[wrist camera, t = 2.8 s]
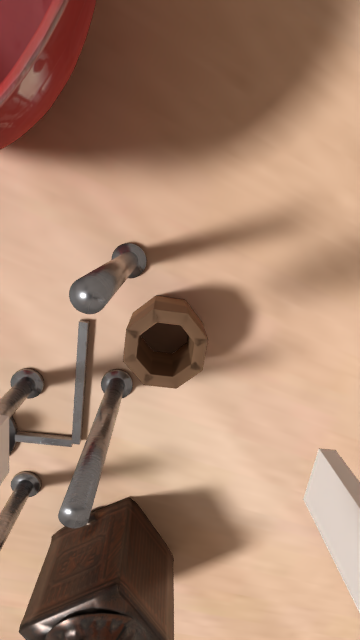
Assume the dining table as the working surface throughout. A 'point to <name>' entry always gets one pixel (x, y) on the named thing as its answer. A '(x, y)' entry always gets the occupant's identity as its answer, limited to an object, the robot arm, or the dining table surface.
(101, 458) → the wire course
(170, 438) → the dining table surface
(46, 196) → the dining table surface
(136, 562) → the brown coffee grinder
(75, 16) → the mixing bowl
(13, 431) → the brass peg
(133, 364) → the napkin ring
